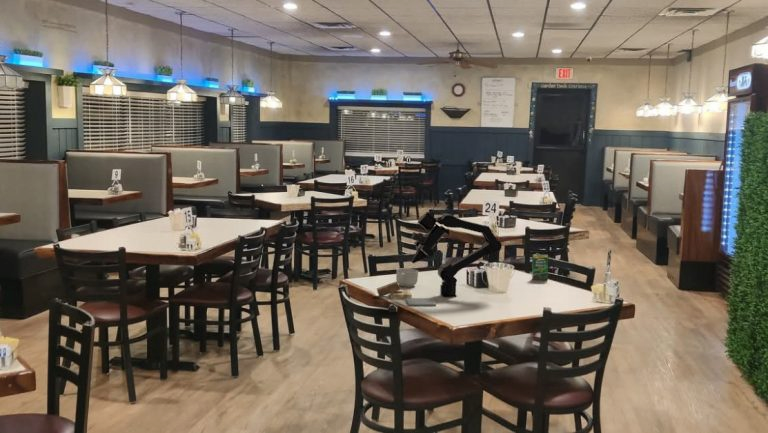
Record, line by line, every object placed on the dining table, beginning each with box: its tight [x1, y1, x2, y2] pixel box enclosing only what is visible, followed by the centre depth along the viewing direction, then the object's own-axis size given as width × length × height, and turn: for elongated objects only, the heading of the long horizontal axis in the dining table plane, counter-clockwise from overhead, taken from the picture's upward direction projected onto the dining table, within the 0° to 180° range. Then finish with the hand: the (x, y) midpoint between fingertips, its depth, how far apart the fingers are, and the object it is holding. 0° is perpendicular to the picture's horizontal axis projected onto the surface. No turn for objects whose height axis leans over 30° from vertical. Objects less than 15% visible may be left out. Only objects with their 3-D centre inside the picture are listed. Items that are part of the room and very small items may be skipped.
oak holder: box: [389, 289, 413, 300], centre depth 344 cm, size 9×10×2 cm
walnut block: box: [376, 280, 401, 298], centre depth 343 cm, size 4×4×10 cm
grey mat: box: [405, 297, 437, 307], centre depth 332 cm, size 12×12×1 cm
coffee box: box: [531, 254, 549, 281], centre depth 388 cm, size 8×3×13 cm, turn 87°
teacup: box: [395, 267, 419, 288], centre depth 366 cm, size 14×11×8 cm
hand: (412, 262), depth 343 cm, fingers closed
